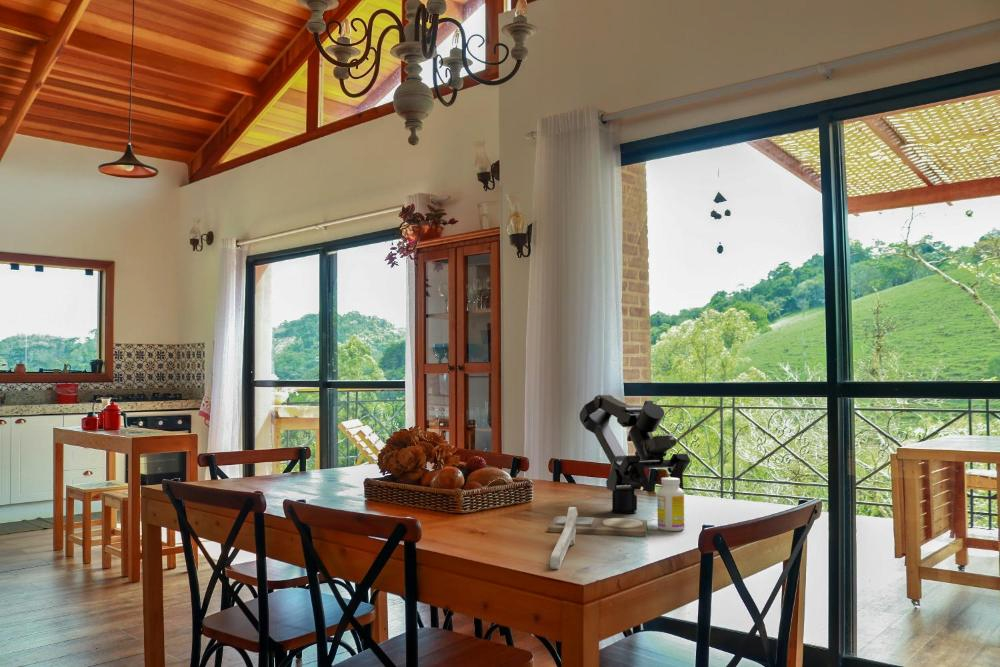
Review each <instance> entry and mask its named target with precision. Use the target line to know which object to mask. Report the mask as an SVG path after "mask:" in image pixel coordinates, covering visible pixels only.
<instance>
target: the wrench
mask: <svg viewBox="0 0 1000 667" xmlns="http://www.w3.org/2000/svg"><path fill="white" fill-rule="evenodd" d="M566 516H567V519H566V523H565V528H564V530H563V532H562V533H561V535H560V537H559V538H558V540H557V543H556V545H555V546H554V549H553V550H552V553H551V555H550V559H549V560H550V561H549V562H550V563H549V564H550V566H549V568H550V569H551V570H553V569H554V570H559V569H560V568H561V567H562V566H561V565H562V563H563V561H564V558H565V556H566V554H567V551H568V549H569V547H570V546H573V545H575V544H576V543H575V542H576V541H575V540H576V534H577V533H576V529H575V521H576V517H579V516H578V508H577V507H576V506H569V507H568V509H567V514H566ZM559 567H560V568H559Z"/></svg>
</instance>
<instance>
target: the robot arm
mask: <svg viewBox="0 0 1000 667" xmlns="http://www.w3.org/2000/svg"><path fill="white" fill-rule="evenodd" d="M612 416H613V417H615V418H616V421H617V424H619V425H620V426H621V427H622V428H630V430H629V432H628V435H627V437H626V438H627V442H632V444H633V446H634V448H635V450H636V451H635V452H634V455H626V453H625V451H624V449H623V448H622V446H621V445H620V443H619V441H618V439H617V437H616V436H615V433H614V432H613V431H612V429H611V427H610V425H609V422H610V419H611V417H612ZM664 416H665V410H664V408H662V406H660V405H658V404H656V403H654V402H653V400H645V401H644V402H643V405H632V404H631V405H630V404H627V403H625V402H623V401H622V400H619V399H617V398H615V397H614V396H613V395H611V394H598V395H596V396H594V398H593V400H591V401H589V402H588V403H586V404H584V406H583V408H582V409H581V410H580V412H579V421H580V422H581V424H582V425H583V427H584V428H585V429H586V430H587V431H589V432H591V433H592V434H593V435H595V437H596V439H597V441H598V443H599V445H600V447H601V448H602V450H603V452H604V454H605V456H606V458H607V459H608V462H609V463H610V465H611V467H610V471H609V475H608V477H607V479H606V481H605V485H606V489H607V490H609V491H611V492H612V494H611V495H612V496H611V497H612V498H611V500H612V501H611V502H612V503H611V506H612V507H611V508H612V509H611V513H612V514H614V513H616V514H635V513H636V511H637V510H638V494H636V491H641V490H642V488H643V489H644V490H645V491H646V492H648V493H652V492H653V488H652V485H651V483H650V481H649V478H648V476H647V474H646V472H645V469H650V470H652V469H653V470H654V469H655V470H656V469H666V470H667V471H668V473H669V477H673V478H679V479H680V484H679V488H681V489H682V490H683V491H684V478H683V474H684V472H685V470H686V468H688V466H689V464H690V462H691V461H692V460H691V459H690V457H689V455H688V454H687V453H683V452H682V453H673V454H672V456H671V458H670V459H665V458H664V457H666V456H667V455H668V453H667V451H668V450H669V449H672V448H673V447H676V445H677V440H676V437H675V436H674V434H673V433H669V434H666V435H655V436H654V435H653V433H654V432H656V431H657V430H658V427H659V426H660V424H661V422H662V420H663V418H664Z"/></svg>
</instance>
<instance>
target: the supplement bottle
mask: <svg viewBox="0 0 1000 667" xmlns="http://www.w3.org/2000/svg"><path fill="white" fill-rule="evenodd" d="M660 480H661V481H660V483H661V487H660V488H659V489H658V490H657V492H656V493H657V495H656V496H657V502H656V503H657V528H658V529H659V530H660V531H665V532H681V531H683V530H684V529H685V492H684V489H683V490H682V489H681V488H679V484H680V479H679V478H673V477H670V476H669V477H668V476H667V477H661V478H660Z"/></svg>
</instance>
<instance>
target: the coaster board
mask: <svg viewBox="0 0 1000 667" xmlns="http://www.w3.org/2000/svg"><path fill="white" fill-rule="evenodd" d="M566 519H567V515H565V516H563V515H560V516H559V515H557V516H555V517H554V518H553V520H552V521H551V522H550V524H549V525H548V527H547V533H557V534H558V533H561V534H562V532H563V530H564V528H565V523H566ZM647 528H648V519H633V518H619V517H617V518H612V517H611V518H609V517H608V518H604V517H589V516H587V517H586V516H585V517H583V516H576V521H575V529H576V534H584V535H585V534H586V535H603V536H604V535H607V536H624V537H625V536H626V537H627V536H628V537H647V531H648V529H647Z"/></svg>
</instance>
